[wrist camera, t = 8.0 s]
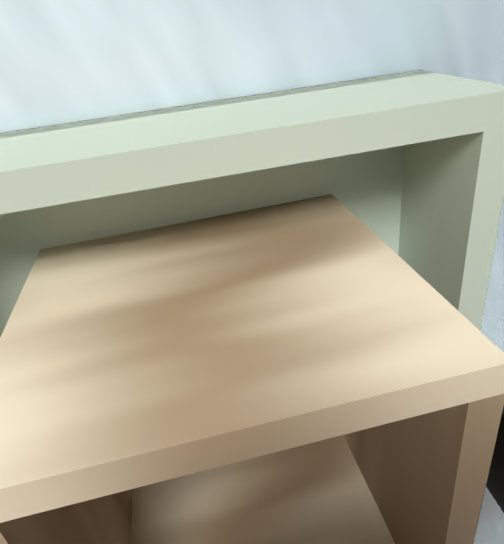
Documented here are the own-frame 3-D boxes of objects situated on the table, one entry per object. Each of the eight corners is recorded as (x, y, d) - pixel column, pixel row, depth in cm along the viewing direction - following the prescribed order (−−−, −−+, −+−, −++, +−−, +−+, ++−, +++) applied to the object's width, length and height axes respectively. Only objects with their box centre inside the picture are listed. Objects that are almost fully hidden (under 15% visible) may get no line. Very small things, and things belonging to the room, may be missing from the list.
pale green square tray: (420, 70, 10) (522, 88, 7) (395, 422, 16) (449, 507, 13) (-122, 152, 9) (-244, 211, 6) (62, 505, 14) (43, 620, 12)
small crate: (331, 194, 10) (513, 362, 5) (338, 398, 14) (454, 625, 9) (40, 249, 10) (-79, 508, 5) (120, 452, 13) (104, 737, 8)
